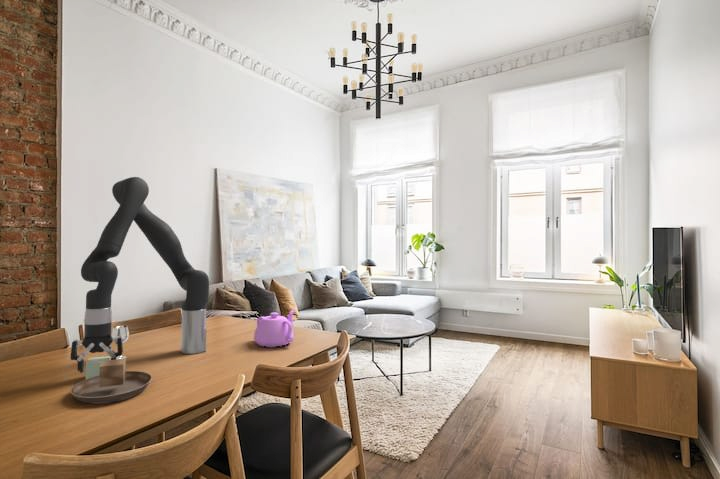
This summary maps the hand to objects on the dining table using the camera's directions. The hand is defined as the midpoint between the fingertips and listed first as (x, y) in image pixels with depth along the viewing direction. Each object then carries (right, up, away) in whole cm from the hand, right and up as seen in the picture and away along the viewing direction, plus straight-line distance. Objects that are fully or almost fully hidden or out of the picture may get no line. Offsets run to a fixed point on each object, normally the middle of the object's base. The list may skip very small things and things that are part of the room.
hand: (97, 370), depth 132 cm
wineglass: (-5, -2, +21) cm, 21 cm away
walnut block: (+13, 0, -12) cm, 17 cm away
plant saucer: (+13, -3, -12) cm, 18 cm away
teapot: (+50, -3, +47) cm, 68 cm away
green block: (0, -3, 0) cm, 2 cm away
